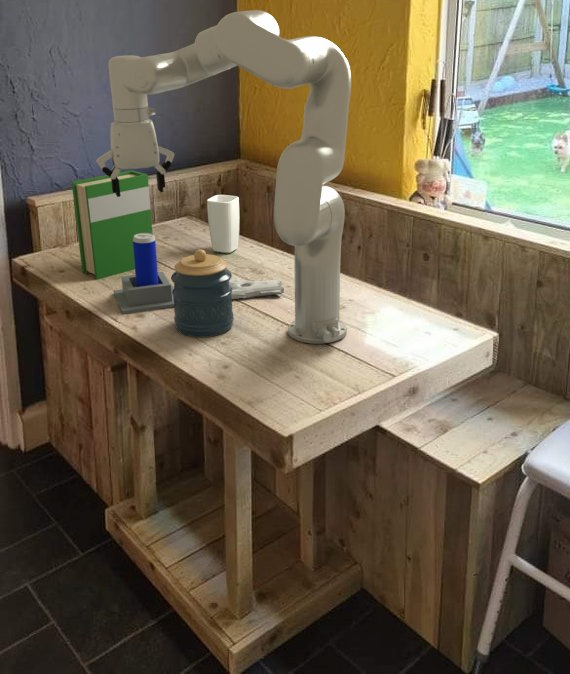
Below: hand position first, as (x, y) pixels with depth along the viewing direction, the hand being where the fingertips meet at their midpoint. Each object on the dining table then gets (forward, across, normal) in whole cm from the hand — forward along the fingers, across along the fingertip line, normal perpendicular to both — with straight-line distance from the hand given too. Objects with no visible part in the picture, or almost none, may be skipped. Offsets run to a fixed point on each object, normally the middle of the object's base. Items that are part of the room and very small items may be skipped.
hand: (139, 193), depth 188 cm
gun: (+27, -22, +3) cm, 35 cm away
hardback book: (+26, +4, -26) cm, 37 cm away
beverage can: (+25, 0, -1) cm, 25 cm away
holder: (+26, +1, -1) cm, 26 cm away
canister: (+26, -8, +20) cm, 34 cm away
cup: (+26, -26, -30) cm, 48 cm away
